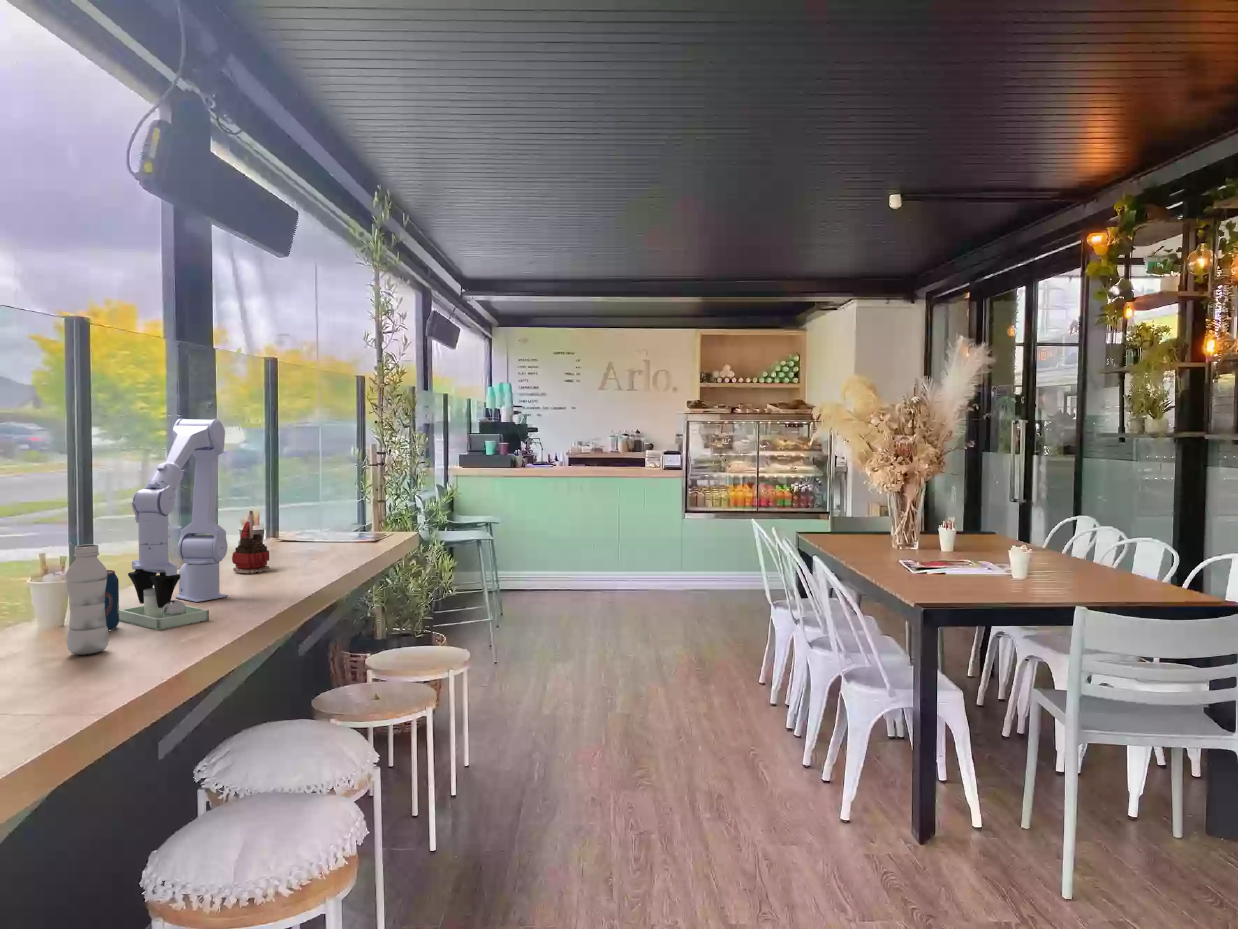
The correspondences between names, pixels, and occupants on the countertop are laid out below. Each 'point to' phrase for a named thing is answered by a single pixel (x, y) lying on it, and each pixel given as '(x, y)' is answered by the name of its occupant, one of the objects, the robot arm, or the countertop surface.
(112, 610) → the soda can
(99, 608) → the plastic bottle
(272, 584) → the countertop surface
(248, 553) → the cake
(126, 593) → the countertop surface
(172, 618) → the tray
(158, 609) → the shaker
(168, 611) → the ball
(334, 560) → the countertop surface
